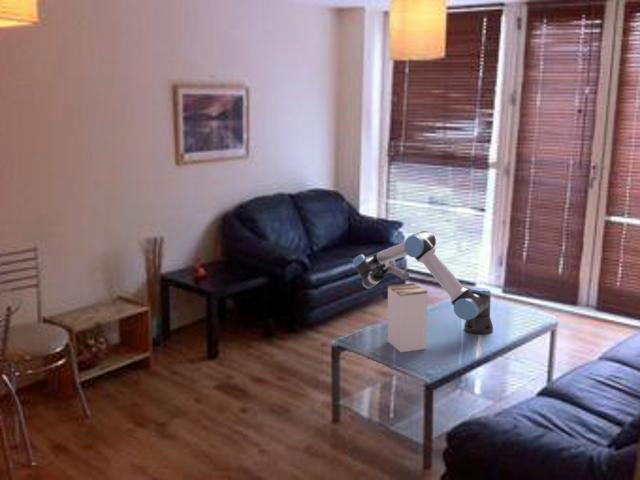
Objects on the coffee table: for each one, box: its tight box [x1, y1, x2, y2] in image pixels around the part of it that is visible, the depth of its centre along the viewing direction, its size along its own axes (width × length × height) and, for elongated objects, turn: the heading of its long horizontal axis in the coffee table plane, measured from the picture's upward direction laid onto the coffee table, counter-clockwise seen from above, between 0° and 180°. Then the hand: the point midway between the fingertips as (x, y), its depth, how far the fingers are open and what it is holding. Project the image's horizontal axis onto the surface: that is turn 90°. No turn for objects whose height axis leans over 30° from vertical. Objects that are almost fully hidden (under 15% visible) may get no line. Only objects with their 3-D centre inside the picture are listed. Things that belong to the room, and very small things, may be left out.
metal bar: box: [382, 262, 410, 280], centre depth 331 cm, size 26×3×3 cm, turn 18°
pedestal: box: [387, 282, 428, 353], centre depth 323 cm, size 16×14×30 cm
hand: (391, 263), depth 336 cm, fingers closed on metal bar, 3 cm apart
